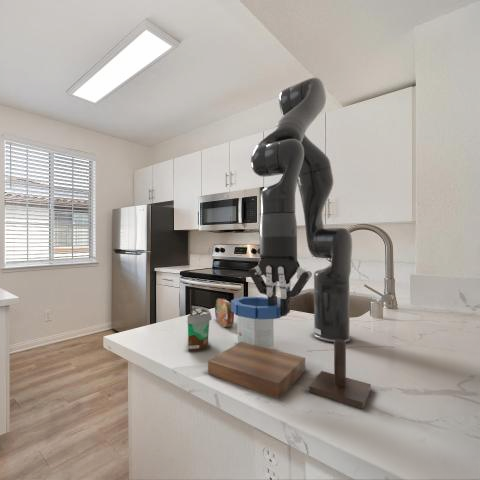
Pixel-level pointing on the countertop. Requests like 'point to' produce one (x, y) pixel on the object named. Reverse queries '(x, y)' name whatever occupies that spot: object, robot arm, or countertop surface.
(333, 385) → the ring stand
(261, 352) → the platform
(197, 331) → the food container
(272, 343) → the small box
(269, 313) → the ring
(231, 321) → the mottled orange brown slab
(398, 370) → the countertop surface
